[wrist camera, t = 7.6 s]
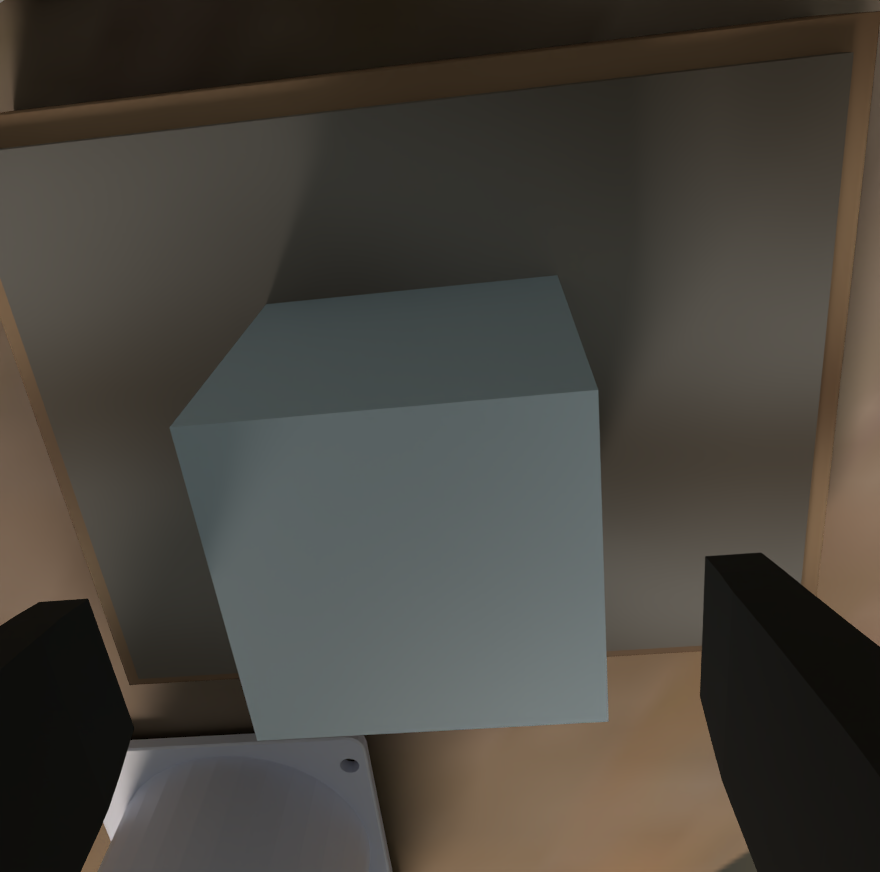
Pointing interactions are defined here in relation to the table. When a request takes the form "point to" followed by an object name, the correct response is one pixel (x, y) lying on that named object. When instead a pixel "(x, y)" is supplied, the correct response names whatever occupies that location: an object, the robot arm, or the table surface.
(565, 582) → the dusty blue block
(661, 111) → the wooden tray
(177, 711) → the table surface
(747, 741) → the robot arm
